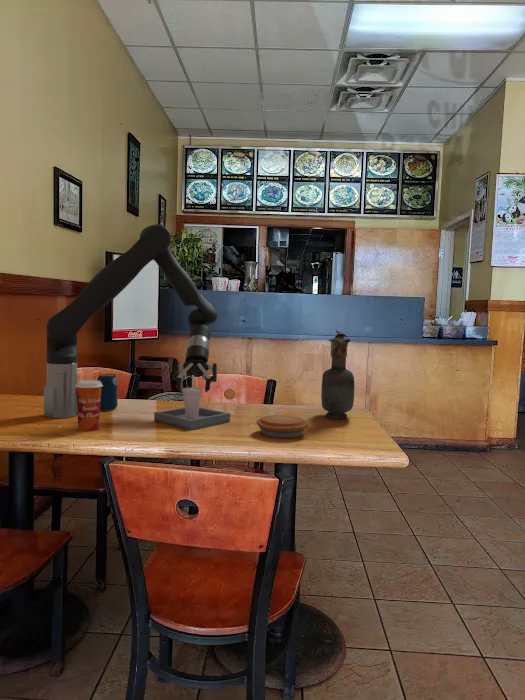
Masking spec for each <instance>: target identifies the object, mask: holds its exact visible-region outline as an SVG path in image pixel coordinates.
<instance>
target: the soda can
mask: <svg viewBox="0 0 525 700" xmlns="http://www.w3.org/2000/svg"><path fill="white" fill-rule="evenodd" d="M96 380H98V381H101V383H102V385H103V386H102V387H101V401H100V411H114V410H116V409H117V407H118V389H119V388H118V387H119V386H118V378H117V376H116V374H113V373H101V374H99V375H98V377H97V379H96Z"/></svg>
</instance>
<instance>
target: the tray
mask: <svg viewBox="0 0 525 700" xmlns="http://www.w3.org/2000/svg"><path fill="white" fill-rule="evenodd" d="M153 417H154V418H153V420H154V422H155V423H159V424H165V425H168V426H172V427H177V428H181V429H185V430H188V431H193V430H197V429H204V428H208V427H212V426H216V425H221V424H226V423H231V413H230V412H225V411H221V410H217V409H213V408H206V407H202V406H201V407H200V406H199V412H198V418H197V419H192V420H191V419H186V414H185V406H184V407H178V408H174V409H168V410H167V409H166V410H160V411H154V416H153Z"/></svg>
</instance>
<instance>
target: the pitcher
mask: <svg viewBox="0 0 525 700" xmlns="http://www.w3.org/2000/svg"><path fill="white" fill-rule="evenodd" d="M335 332H336V333H337V334H336V335H335V337H334V338H330V339H328V341H329V342H330V357H331V365H330V367H331V368H328V369H326V370H325V371H324V372H323V374H322V378H321V391H320V392H321V394H320V395H321V398H320V399H321V406H322V409H323V410H324V411H326V413H325V416H326V417H327V418H328V419H333V420H345V419H346V418H347V417H348V415H347V414H346V413H348V412H350V411H351V410H352V409H353V408H354V402H355V376H354V374H353V372H352V371H351V370H348V369H347V368H346V367H347V366H346V364H347V357H348V345H349V343H350V342H351V341H352V340H351V338H348V336H347V334H345V333H343V332H341V331H339V330H335Z"/></svg>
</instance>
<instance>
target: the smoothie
mask: <svg viewBox="0 0 525 700" xmlns="http://www.w3.org/2000/svg"><path fill="white" fill-rule="evenodd" d="M194 384H195V377H194V375H192V377H191V387H184V388H183V387H182V388H181V391H182V393H183V403H184V407H185V414H186V419H191V420H192V419H197V418H198V412H199V407H200V403H201V398H202V397H201V396H202V393H203V388H201V387H195V385H194Z"/></svg>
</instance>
